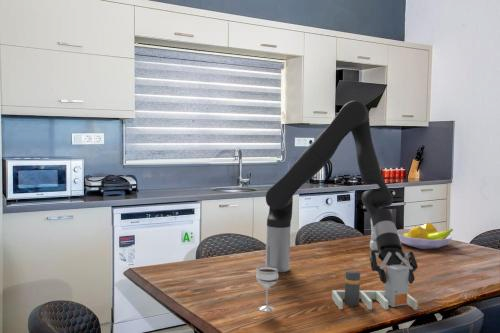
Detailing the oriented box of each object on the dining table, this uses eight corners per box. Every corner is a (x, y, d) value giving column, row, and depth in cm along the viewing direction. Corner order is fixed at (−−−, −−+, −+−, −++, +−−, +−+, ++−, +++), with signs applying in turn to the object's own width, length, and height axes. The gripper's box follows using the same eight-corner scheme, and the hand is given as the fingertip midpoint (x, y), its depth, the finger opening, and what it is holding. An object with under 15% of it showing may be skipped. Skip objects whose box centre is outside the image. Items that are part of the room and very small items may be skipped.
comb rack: (339, 309, 140) (339, 301, 140) (331, 297, 150) (332, 290, 150) (417, 309, 141) (417, 301, 141) (404, 298, 151) (404, 290, 151)
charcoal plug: (346, 306, 142) (347, 274, 142) (342, 301, 147) (343, 270, 146) (361, 306, 143) (362, 274, 142) (356, 301, 147) (358, 270, 147)
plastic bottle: (384, 253, 212) (386, 209, 211) (369, 252, 214) (371, 209, 212) (383, 249, 219) (385, 207, 217) (368, 248, 220) (370, 207, 219)
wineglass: (258, 303, 143) (259, 265, 143) (280, 306, 142) (281, 267, 141) (252, 310, 137) (253, 270, 136) (274, 313, 135) (275, 273, 134)
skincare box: (393, 307, 142) (394, 269, 142) (383, 303, 146) (385, 265, 146) (408, 305, 145) (409, 267, 144) (398, 300, 149) (399, 263, 148)
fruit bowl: (383, 241, 238) (384, 219, 237) (427, 239, 246) (428, 217, 245) (418, 254, 211) (419, 230, 210) (466, 251, 219) (468, 228, 219)
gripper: (368, 231, 151) (378, 276, 140) (411, 231, 152) (424, 276, 141) (363, 243, 157) (372, 287, 146) (404, 244, 158) (416, 288, 147)
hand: (398, 282), depth 144 cm, fingers open, 8 cm apart
